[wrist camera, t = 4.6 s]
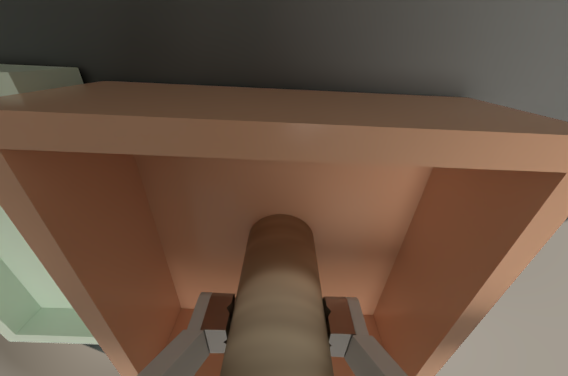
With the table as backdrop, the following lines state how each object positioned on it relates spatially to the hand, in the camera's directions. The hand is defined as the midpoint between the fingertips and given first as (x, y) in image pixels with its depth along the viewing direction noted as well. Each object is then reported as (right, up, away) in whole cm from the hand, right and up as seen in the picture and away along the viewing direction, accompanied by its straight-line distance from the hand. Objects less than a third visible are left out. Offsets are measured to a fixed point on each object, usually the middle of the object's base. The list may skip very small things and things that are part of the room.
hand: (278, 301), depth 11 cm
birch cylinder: (0, +2, +4) cm, 4 cm away
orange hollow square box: (0, +3, +4) cm, 5 cm away
